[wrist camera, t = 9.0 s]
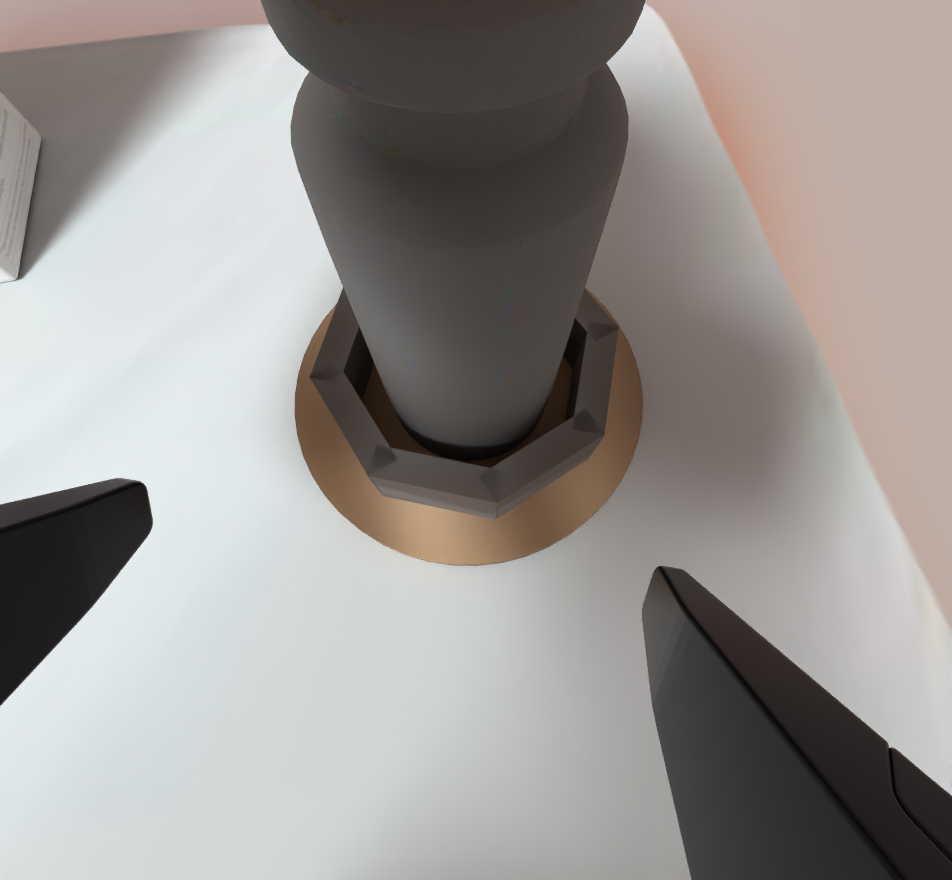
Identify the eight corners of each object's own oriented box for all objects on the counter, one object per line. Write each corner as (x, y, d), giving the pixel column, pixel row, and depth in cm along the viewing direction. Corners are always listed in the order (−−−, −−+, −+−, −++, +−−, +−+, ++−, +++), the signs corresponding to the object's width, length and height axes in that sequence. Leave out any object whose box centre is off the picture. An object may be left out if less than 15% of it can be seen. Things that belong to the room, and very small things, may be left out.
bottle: (548, 466, 17) (889, -271, 3) (383, 459, 17) (-64, -285, 3) (547, 325, 19) (745, -513, 5) (400, 319, 19) (182, -513, 5)
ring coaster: (408, 644, 16) (391, 650, 13) (248, 352, 20) (204, 302, 16) (706, 441, 18) (753, 404, 15) (512, 217, 22) (517, 151, 19)
